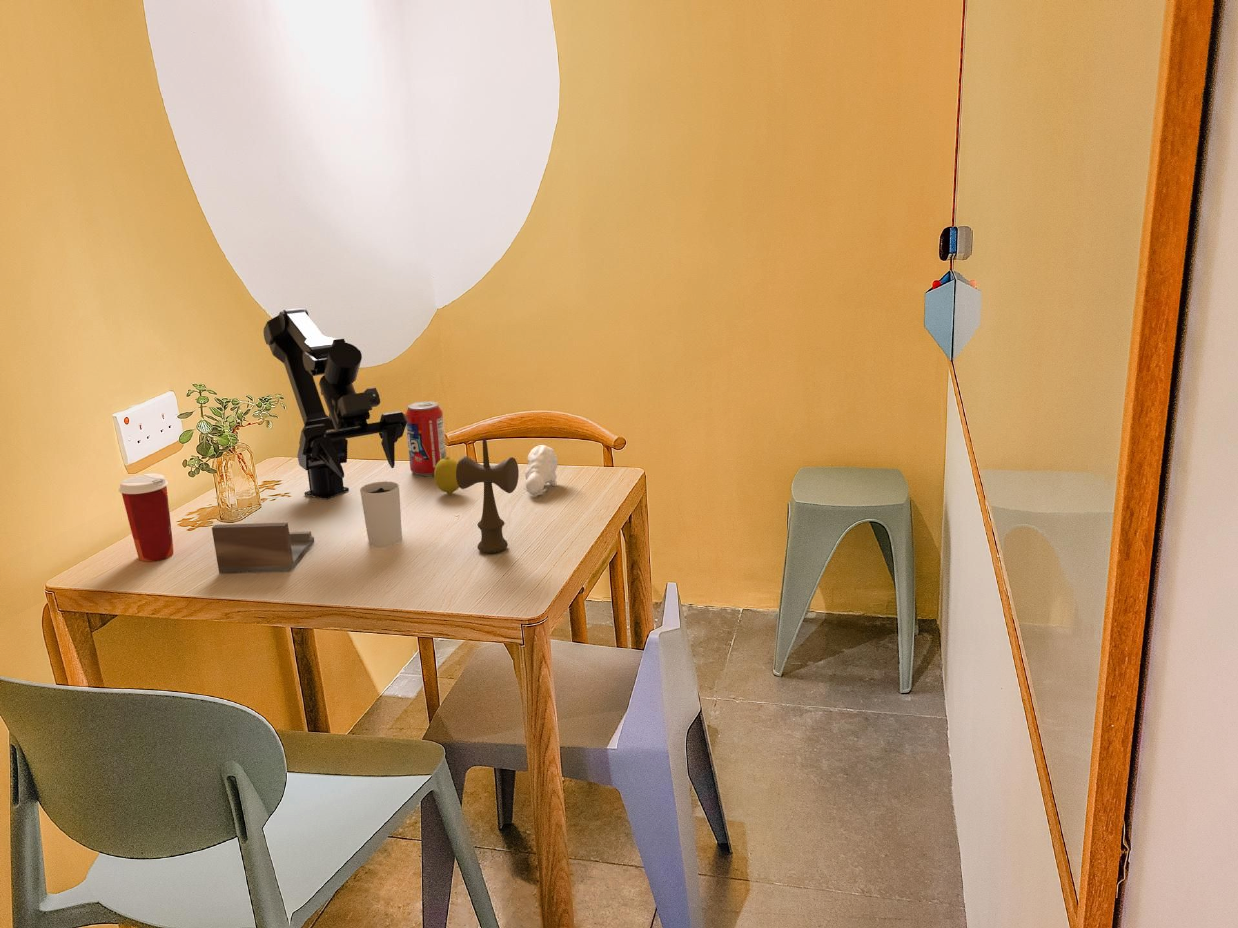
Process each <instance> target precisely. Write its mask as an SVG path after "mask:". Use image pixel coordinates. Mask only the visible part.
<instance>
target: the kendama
mask: <svg viewBox="0 0 1238 928" xmlns="http://www.w3.org/2000/svg"><path fill="white" fill-rule="evenodd" d="M489 456H490V455H489V449H488V442H487V437H482V461H483V462H482V464H481V463H479V462H477V461H475V460H473V458H470V457H469V456H467V455H465V456H461V458H459V460H458V461H457V462H458V464H457V468H456V480H457V484H458V486H459V488H460V489H461V490H465V489H468V488H470V487H472V486H474V485H475V484H479V483H483V502H482V512H481V513H482V514H481V519H480V520H479V521H478V522H477V527H478V529H480V533H481V538H480V539H481V540H480V542H479V543H478V544H477V547H476V548H477V550H478V551H480V552H482V553H488V554H490V553H491V554H495V553H499V552H503V551H505V549H507V547H508V545H509V543H508V541H507V540H506V539H505V537H504V535H503V527H504V526H505V521H504V520H503V519H501V517H500V516H499V512H498V508H497V505H496V498H495V494H494V490H493V488H494V487H493V485H495V486H497V487H498V488H500V489H501V490H502V491H503V492H505V493H507V494H511V493H513V492H514V491H515V490H516V489H517V486H518V482H519V475H520V474H519V464H518V461H517V459H516V458H515V457H513V456H511V457H507V458H506V459H505V460H503V461H501V462H500V463H498V464H495V465H490V457H489ZM459 488H458V489H459Z"/></svg>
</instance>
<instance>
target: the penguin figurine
mask: <svg viewBox="0 0 1238 928" xmlns="http://www.w3.org/2000/svg"><path fill="white" fill-rule="evenodd" d="M558 461H559V459H558V456H557V455H556V453H555V450H554V449H553V448H551V447H550V446H547V445H545V444H539V445H537V446H534V447H533V448H532V449H531V450H530V452H529V453H528V455H527V462H528V465H527V468H526V469H525V471H524V476H525V479H526V480H525V488H524V487H523V490H525V491H526V492H527V494H528V495H531V496H532V497H534V498H537V497H538V496H541V495H545V492H546V491H547V489H548V488H544V487H545V485H546V484H549V485H550V486H552V487H556V486H557V485H558V482H557V474H556V471H557V469H558Z"/></svg>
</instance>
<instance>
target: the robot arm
mask: <svg viewBox="0 0 1238 928" xmlns="http://www.w3.org/2000/svg"><path fill="white" fill-rule="evenodd" d="M263 338H264V342H265V344H266V345H267V346H269V349H270V351H271V354H272V356H273V357H275V358H276V359H277V360H279V361H280V362H281V363H282V364H283V365H284V367H285V371H286V374H287V377H288V380H289V383H290V386H291V389H292V392H293V394H294V399H295V400H296V404H297V407H298V410H299V413H300V416H301V419H302V423H303V425H304V426H303V428H302V429H301V432H300V438H299V447H298V450H297V454H296V455H297V460H298V465H299V467H301V468H302V469H303V470H305V471H307V477H308V485H309V490H307V491H305V492H303V494H304V495H305V496H308V497H313V498H319V499H324V500H327V499H330V498H334V497H335V496H338V495H340V494H343V493H346V492H348V491H349V490H350V489H349V487H347V486H344V478H345V471H344V469H343V466H342V464H347V463H348V445H349V440H348V439H353V438H358V437H365V436H369V435H375V434H378V435H379V438H380V439H382V440H381V442H380V444H381V446H382V449H383V452H384V455H385V457H386V458H385V459H386V460H387V463H388V465H389V467H390V468H391V469H394V468H395V465H396V464H395V463H396V459H395V452H396V451H395V445H396V443H397V442H398V440H399V439H401V438H402V437H403V435H404V433H405V430H406V424H407V419H406V417H405V413H403V412H402V411H400V410H396V411H390V412H384V413H382V414H381V416H380V419H379V421H376V422H370V423H368V421H367V420H370V418H371V414H370V411H372V410H373V408H374V407H378V406H379V405H380V404H381V399H380V398H381V397H380V394H379V392H378V390H377V387H370V388H366V389H365V390H364V391H363V392H358V393H357V392H356V389H355V387H354V384H353V383H354V382H356V380H357V378H358V373H359V369H360V366H361V362H362V359H363V356H362V351H361V350H360V349H358V347H356V346H355V345H354V344H351V343H349V342H346V340H345V338H344V337H342V338H341V337H340V338H334V337H331V336H326V335H324V334H323V333H322V331H321V330H320V328H318V326H317V325H316V324H315V323H314V321H313V320H312V319H311V318H310V316H309V312H308V310H307V308H303V307H298V308H289V309H287V308H286V309H282V310H281V311H279V313H278V314H277V316H274V317H273V318H271V319H269V320H268V321H266V323H265V325H264V328H263ZM315 376H321V378H320V379H319V382H318V386H319V389H320V393H319V390H318V388H317V384H316V382H315V378H314V377H315ZM320 394H321V396H322V397H323V399H324V401H325V405H326V408H327V410H328V415H327V413H326V411H325V408H324V405H323V403H322V399H321V396H320Z"/></svg>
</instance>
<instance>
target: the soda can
mask: <svg viewBox="0 0 1238 928" xmlns="http://www.w3.org/2000/svg"><path fill="white" fill-rule="evenodd" d="M404 414H405V417H406V419H407V424H406V427H405V430H406V431H405V432H406V439H407V449H408V458H409V459H408V461H409V469H410V471H411V473H413V474H415V475H417V476H420V477H431V476H433V477H434V471H435V467H436V465H437V463H438V462H439V461H440V460H441V459H444V458H445V457H446V456H447V448H446V447H447V446H446V437H445V436H446V435H445V426H444V415H443V410H442V409H441V407H440V406H439V402H436V401H417V402H412V403H409V404H408V405H407V409H406V411H405V413H404Z"/></svg>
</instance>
